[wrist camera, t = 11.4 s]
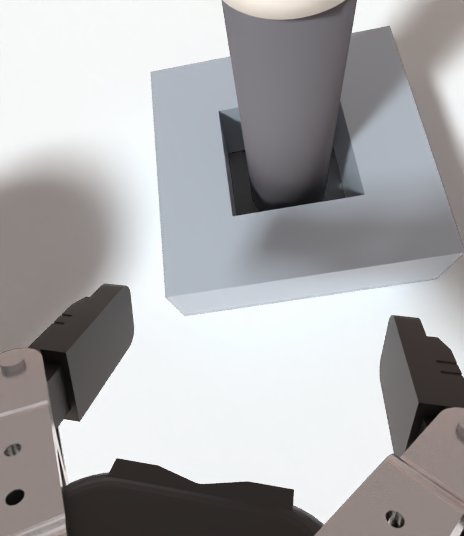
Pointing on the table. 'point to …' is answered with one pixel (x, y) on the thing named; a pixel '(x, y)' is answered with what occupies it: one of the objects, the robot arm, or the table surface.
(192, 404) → the table surface
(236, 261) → the socket
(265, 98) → the plug
